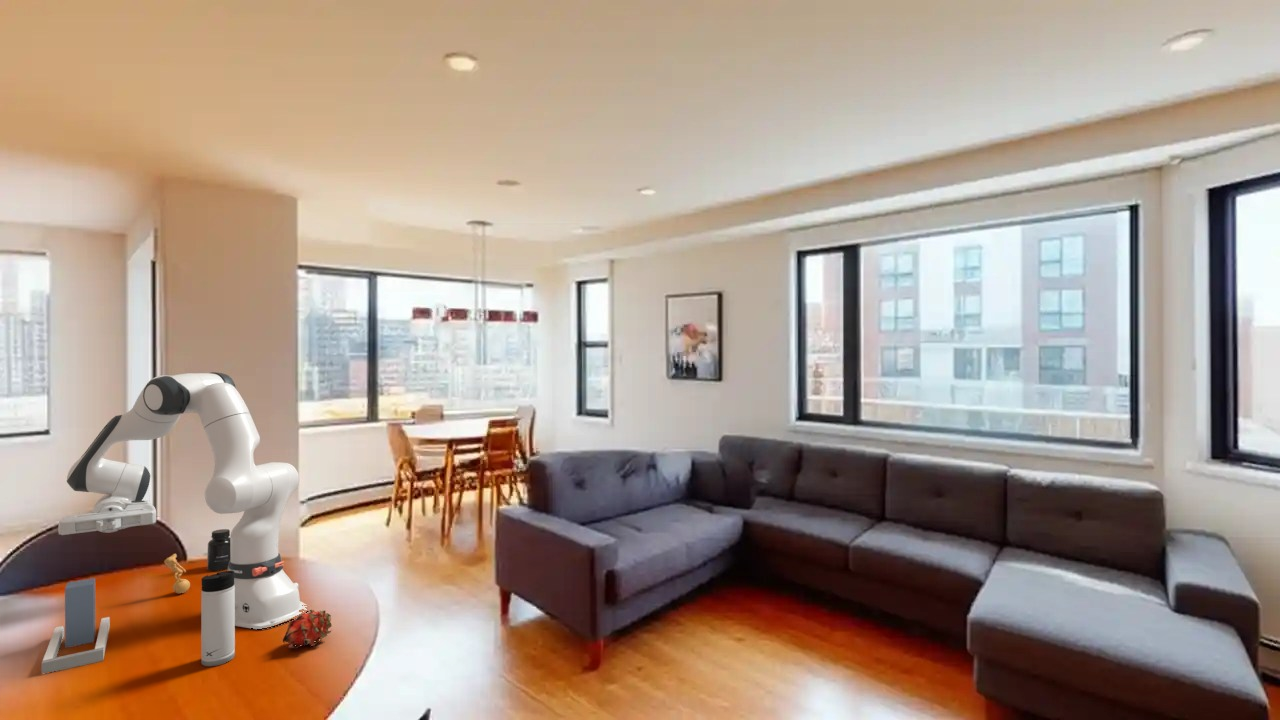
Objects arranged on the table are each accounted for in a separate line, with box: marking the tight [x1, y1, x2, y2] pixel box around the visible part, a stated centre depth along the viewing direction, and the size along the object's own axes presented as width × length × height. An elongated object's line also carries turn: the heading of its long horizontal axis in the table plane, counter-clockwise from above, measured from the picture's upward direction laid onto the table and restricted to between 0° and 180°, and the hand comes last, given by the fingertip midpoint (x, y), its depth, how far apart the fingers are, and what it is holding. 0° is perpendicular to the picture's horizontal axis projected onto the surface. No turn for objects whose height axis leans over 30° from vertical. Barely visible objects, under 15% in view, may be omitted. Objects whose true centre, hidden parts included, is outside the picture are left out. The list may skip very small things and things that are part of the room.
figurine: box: [163, 553, 191, 595], centre depth 176 cm, size 8×6×12 cm
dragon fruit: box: [282, 608, 332, 650], centre depth 147 cm, size 8×8×12 cm
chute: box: [41, 616, 111, 675], centre depth 144 cm, size 22×10×2 cm, turn 38°
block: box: [64, 577, 96, 649], centre depth 148 cm, size 5×5×14 cm
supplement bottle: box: [206, 528, 231, 572], centre depth 198 cm, size 7×7×12 cm
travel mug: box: [200, 570, 236, 667], centre depth 139 cm, size 6×7×20 cm
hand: (107, 527), depth 162 cm, fingers closed
